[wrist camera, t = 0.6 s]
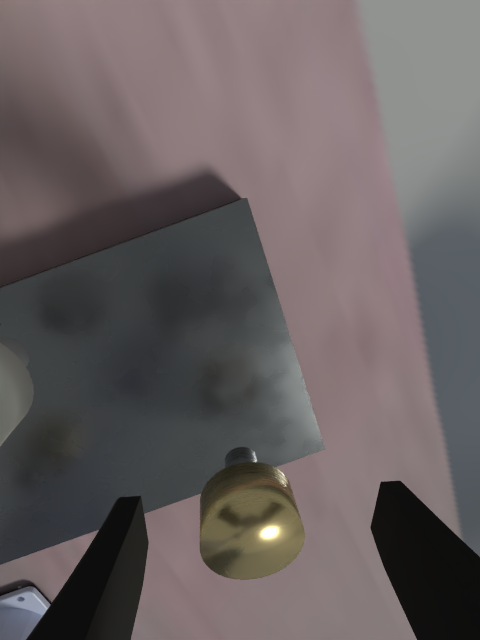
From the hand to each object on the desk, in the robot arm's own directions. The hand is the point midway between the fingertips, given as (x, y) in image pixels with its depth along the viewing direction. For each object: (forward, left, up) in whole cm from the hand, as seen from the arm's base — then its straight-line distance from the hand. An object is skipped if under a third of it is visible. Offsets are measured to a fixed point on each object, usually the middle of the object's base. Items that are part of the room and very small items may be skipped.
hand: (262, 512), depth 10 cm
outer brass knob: (-1, -3, -6) cm, 7 cm away
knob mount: (-8, +1, -10) cm, 13 cm away
